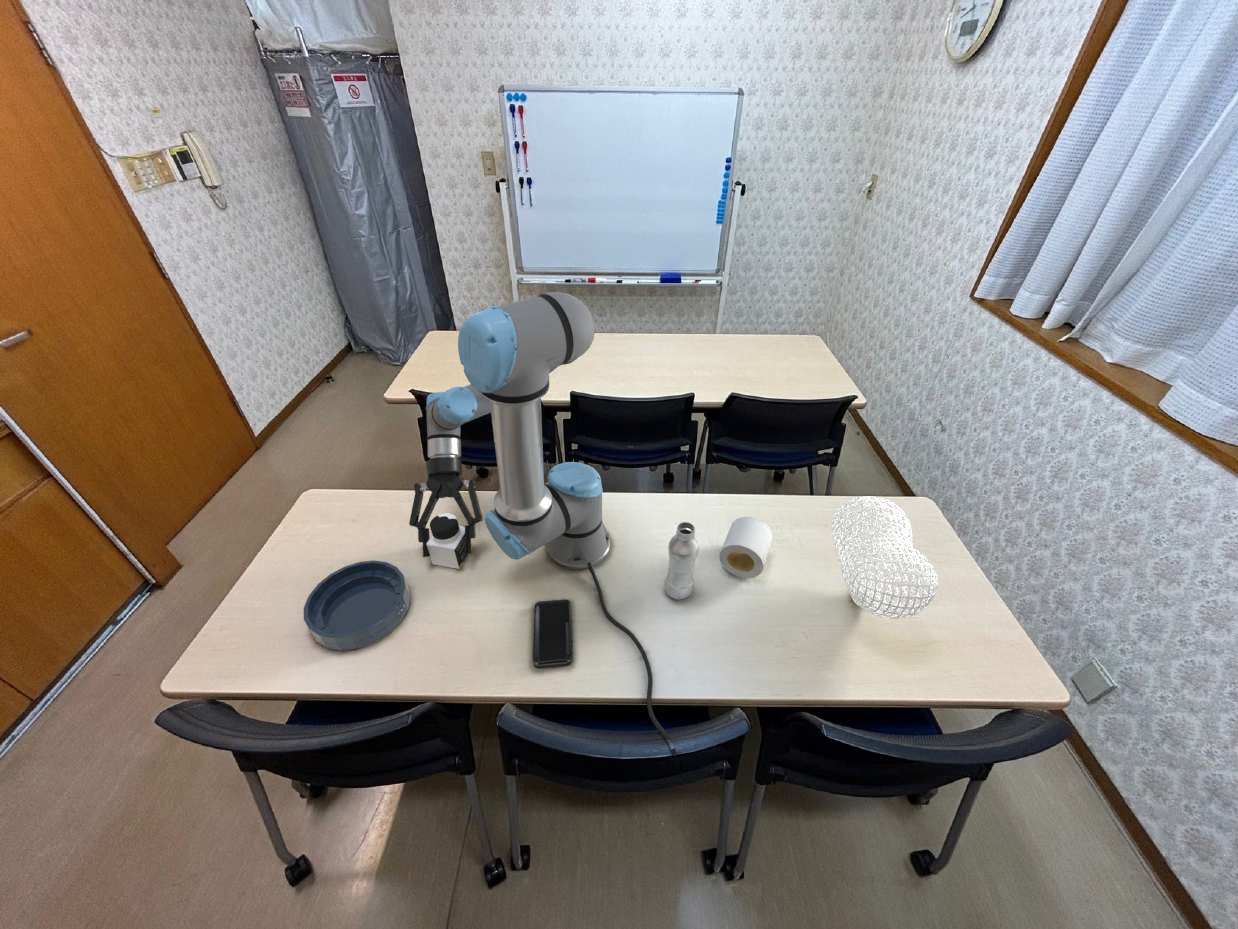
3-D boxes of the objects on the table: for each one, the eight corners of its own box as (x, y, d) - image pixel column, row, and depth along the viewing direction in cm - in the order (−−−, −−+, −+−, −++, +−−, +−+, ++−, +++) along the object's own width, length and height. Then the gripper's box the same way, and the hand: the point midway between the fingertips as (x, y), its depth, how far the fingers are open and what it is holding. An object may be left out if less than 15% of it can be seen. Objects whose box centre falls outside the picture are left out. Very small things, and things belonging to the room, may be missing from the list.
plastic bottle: (696, 585, 116) (706, 522, 103) (686, 608, 111) (696, 544, 99) (669, 576, 118) (676, 513, 106) (659, 597, 113) (665, 534, 101)
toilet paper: (728, 541, 127) (734, 511, 121) (768, 554, 123) (776, 524, 117) (716, 569, 120) (722, 539, 113) (758, 583, 116) (767, 554, 110)
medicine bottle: (460, 569, 119) (450, 533, 111) (432, 564, 120) (420, 528, 112) (473, 547, 124) (464, 511, 117) (446, 543, 125) (435, 507, 118)
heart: (917, 660, 101) (964, 589, 88) (837, 653, 102) (872, 582, 89) (874, 555, 123) (907, 485, 110) (809, 550, 125) (834, 481, 111)
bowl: (426, 611, 109) (421, 597, 106) (333, 670, 98) (324, 656, 95) (386, 561, 120) (380, 547, 117) (298, 609, 109) (289, 595, 106)
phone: (532, 665, 98) (534, 601, 110) (533, 668, 99) (535, 604, 111) (573, 661, 99) (571, 598, 111) (573, 664, 100) (571, 602, 112)
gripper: (493, 458, 124) (497, 550, 122) (403, 463, 122) (404, 557, 120) (488, 453, 117) (492, 552, 114) (391, 459, 115) (393, 559, 112)
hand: (447, 555), depth 117 cm, fingers closed on medicine bottle, 9 cm apart
